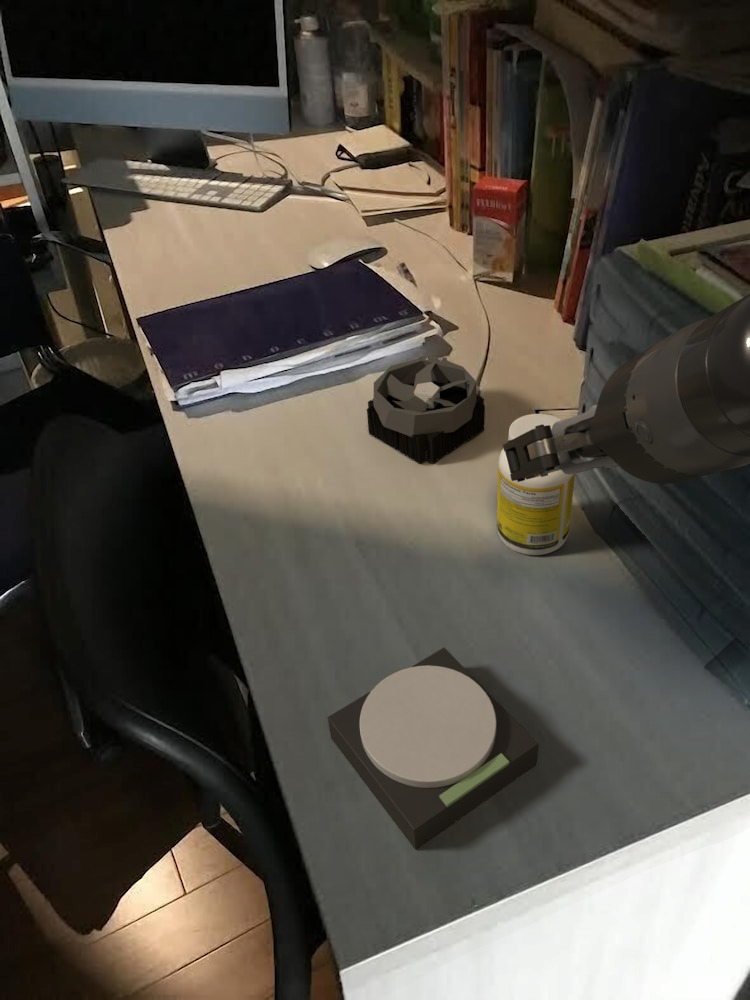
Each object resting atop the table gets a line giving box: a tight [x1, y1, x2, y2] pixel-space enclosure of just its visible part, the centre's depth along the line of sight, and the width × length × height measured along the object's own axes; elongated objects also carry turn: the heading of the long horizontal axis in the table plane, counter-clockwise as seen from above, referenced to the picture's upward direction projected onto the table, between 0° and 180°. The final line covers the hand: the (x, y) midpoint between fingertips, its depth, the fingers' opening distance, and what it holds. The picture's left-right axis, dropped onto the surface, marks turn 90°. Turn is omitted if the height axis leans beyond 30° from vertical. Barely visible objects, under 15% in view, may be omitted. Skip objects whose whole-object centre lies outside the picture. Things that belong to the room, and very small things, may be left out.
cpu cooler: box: [366, 355, 486, 465], centre depth 83 cm, size 10×6×10 cm
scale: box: [326, 647, 540, 851], centre depth 56 cm, size 10×10×3 cm
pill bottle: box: [496, 413, 576, 556], centre depth 69 cm, size 6×6×11 cm
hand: (581, 451), depth 59 cm, fingers open, 8 cm apart
